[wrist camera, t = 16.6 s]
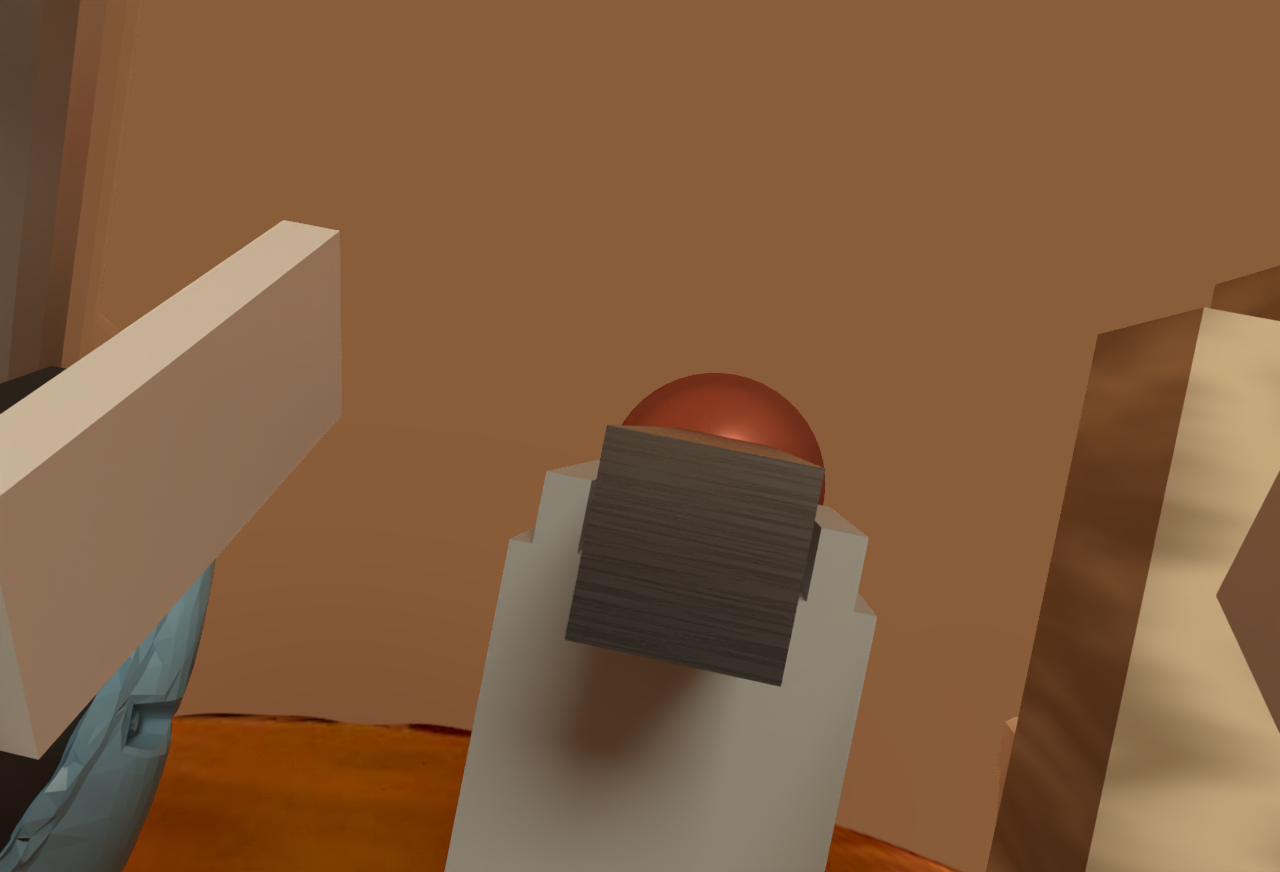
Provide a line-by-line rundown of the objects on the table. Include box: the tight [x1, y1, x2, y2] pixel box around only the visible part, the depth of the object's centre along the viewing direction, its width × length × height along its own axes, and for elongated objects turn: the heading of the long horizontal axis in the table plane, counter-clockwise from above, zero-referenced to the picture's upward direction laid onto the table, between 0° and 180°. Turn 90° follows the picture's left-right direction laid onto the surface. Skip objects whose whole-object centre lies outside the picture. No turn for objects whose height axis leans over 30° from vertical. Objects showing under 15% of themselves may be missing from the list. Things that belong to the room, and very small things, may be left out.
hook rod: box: [565, 373, 825, 687], centre depth 25 cm, size 7×22×7 cm, turn 174°
